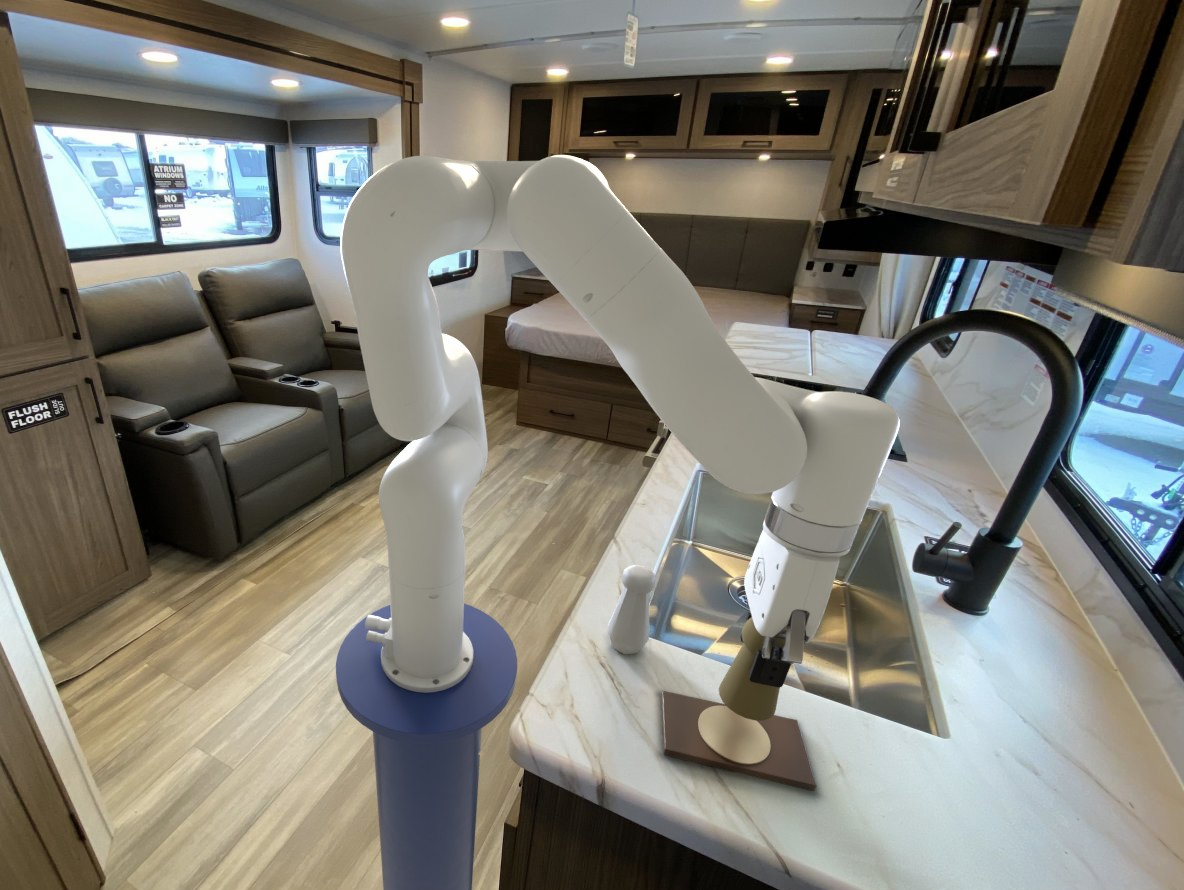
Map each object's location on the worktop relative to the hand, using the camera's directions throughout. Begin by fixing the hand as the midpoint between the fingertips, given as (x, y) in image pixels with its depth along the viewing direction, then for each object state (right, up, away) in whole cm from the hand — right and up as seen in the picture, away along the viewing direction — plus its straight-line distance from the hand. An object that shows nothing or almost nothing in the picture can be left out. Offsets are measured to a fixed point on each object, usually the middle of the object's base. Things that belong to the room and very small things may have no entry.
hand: (760, 661), depth 63 cm
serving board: (0, -11, +6) cm, 13 cm away
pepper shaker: (0, -5, +3) cm, 6 cm away
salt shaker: (-9, -4, +20) cm, 22 cm away
